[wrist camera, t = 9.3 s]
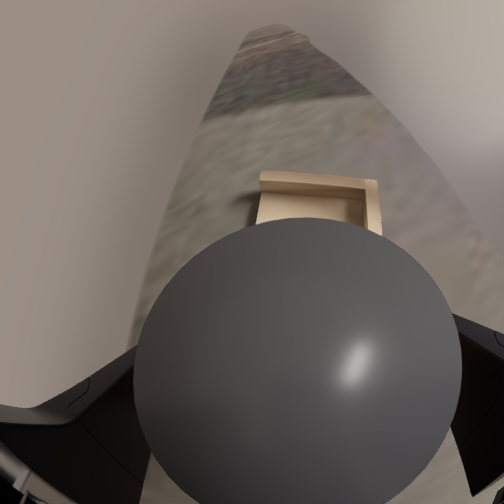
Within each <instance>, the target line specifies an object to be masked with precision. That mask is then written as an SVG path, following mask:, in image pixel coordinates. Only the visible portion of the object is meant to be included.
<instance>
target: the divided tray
mask: <svg viewBox="0 0 504 504" xmlns="http://www.w3.org/2000/svg"><path fill="white" fill-rule="evenodd" d="M259 181H260V186H261V198H260V203H259V209H258V214H257V220H256V224H260V223H263V222H267V221H272V220H279V219H285V218H302V217H312V218H324V219H332V220H337V221H342V222H347V223H351V224H354V225H357V226H360V227H362V228H365V229H368V230H370V231H372V232H375V233H377V234H379V235H381V236H382V227H381V215H380V204H379V195H378V186H377V180H369V179H361V178H353V177H344V176H334V175H324V174H312V173H298V172H283V171H262V170H261V175H260V180H259Z"/></svg>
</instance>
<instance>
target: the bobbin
mask: <svg viewBox="0 0 504 504" xmlns="http://www.w3.org/2000/svg"><path fill="white" fill-rule="evenodd" d="M461 378H462V356H461V347H460V341H459V336H458V331H457V327H456V324H455V321H454V318H453V315H452V312H451V310H450V308H449V306H448V304H447V302H446V300H445V298H444V296H443V294H442V292H441V291H440V289H439V288H438V286H437V285H436V283H435V282H434V280H433V279H432V277H431V276H430V275H429V274H428V273H427V272H426V270H425V269H424V268H423V267H422V266H421V265H420V264H419V263H418V262H417V261H416V260H415V259H414V258H413V257H412V256H410V255H409V254H408V253H407V252H406V251H405V250H403V249H402V248H400V247H399V246H397V245H396V244H394V243H393V242H391V241H390V240H388V239H387V238H385V237H383V236H381V235H379V234H377V233H375V232H372V231H370V230H368V229H365V228H362V227H360V226H357V225H354V224H351V223H347V222H342V221H337V220H332V219H324V218H312V217H302V218H285V219H279V220H272V221H267V222H263V223H260V224H256V225H253V226H249V227H246V228H244V229H241V230H239V231H237V232H234V233H232V234H229V235H227V236H226V237H224V238H222V239H220V240H218V241H216V242H215V243H213V244H211V245H210V246H208V247H207V248H205V249H204V250H203V251H201V252H200V253H199V254H197V255H196V256H194V257H193V258H192V259H191V260H190V261H189V262H188V263H187V264H186V265H184V266H183V267H182V268H181V269H180V270H179V271H178V272H177V273H176V275H175V276H174V277H173V278H172V279H171V280H170V282H169V283H168V284H167V285H166V286H165V288H164V289H163V291H162V292H161V294H160V295H159V297H158V298H157V300H156V301H155V303H154V305H153V307H152V309H151V311H150V313H149V315H148V317H147V319H146V321H145V323H144V326H143V329H142V332H141V335H140V338H139V341H138V346H137V351H136V356H135V361H134V377H133V386H134V399H135V406H136V410H137V415H138V419H139V423H140V426H141V429H142V431H143V434H144V436H145V439H146V442H147V444H148V445H149V447H150V449H151V451H152V453H153V455H154V456H155V458H156V460H157V461H158V463H159V464H160V465H161V467H162V468H163V469H164V471H165V472H166V473H167V475H168V476H169V477H170V478H171V479H172V480H173V481H174V482H175V483H176V484H177V485H178V486H179V487H180V488H181V489H182V490H183V491H184V492H185V493H186V494H188V495H189V496H190V497H192V498H193V499H194V500H195V501H197V502H198V503H200V504H384V503H386V502H388V501H389V500H391V499H392V498H394V497H395V496H396V495H397V494H399V493H400V492H401V491H402V490H404V489H405V488H406V487H407V486H408V485H409V484H410V483H411V482H412V481H413V480H414V479H415V478H416V477H417V476H418V475H419V474H420V473H421V472H422V471H423V470H424V469H425V467H426V466H427V465H428V463H429V462H430V461H431V459H432V458H433V457H434V455H435V454H436V452H437V451H438V449H439V447H440V446H441V444H442V442H443V440H444V438H445V436H446V434H447V432H448V430H449V428H450V425H451V422H452V420H453V417H454V414H455V411H456V407H457V403H458V399H459V394H460V388H461Z"/></svg>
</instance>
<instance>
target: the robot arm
mask: <svg viewBox="0 0 504 504" xmlns="http://www.w3.org/2000/svg"><path fill="white" fill-rule="evenodd" d="M452 315H453V318H454V321H455V324H456V327H457V331H458V336H459V341H460V347H461V356H462V378H461V388H460V394H459V399H458V403H457V407H456V411H455V414H454V417H453V420H452V422H451V425H450V427H451V430H452V433H453V435H454V438H455V441H456V444H457V447H458V450H459V453H460V457H461V460H462V463H463V466H464V470H465V473H466V477H467V480H468V484H469V488H470V492H471V495H472V497H474V496H475V495H477V494H479V493H480V492H482V491H483V490H485V489H487V488H488V487H490V486H491V485H493V484H494V483H496V482H497V481H498V480H500V479H501V478H503V477H504V334H502V333H500V332H497V331H493V330H492V329H490V328H487V327H485V326H482V325H480V324H478V323H475V322H473V321H470V320H468V319H465V318H463V317H460V316H458V315H455V314H453V313H452ZM137 346H138V345H136V346H135V347H133V348H132V349H130V350H129V351H127V352H126V353H124V354H123V355H121V356H120V357H118V358H117V359H115V360H114V361H112V362H111V363H109V364H108V365H106V366H105V367H103V368H102V369H100V370H98V371H97V372H95V373H94V374H92V375H91V376H90V377H88V378H86V379H85V380H83V381H82V382H80V383H78V384H77V385H75V386H73V387H72V388H70V389H68V390H67V391H65V392H63V393H61V394H59V395H57V396H56V397H54V398H52V399H50V400H48V401H46V402H44V403H42V404H40V405H38V406H36V407H33V408H18V407H12V406H6V405H0V504H139V501H140V497H141V493H142V488H143V483H144V479H145V475H146V471H147V467H148V463H149V459H150V455H151V449H150V447H149V445H148V444H147V442H146V439H145V436H144V434H143V431H142V429H141V426H140V423H139V419H138V415H137V410H136V406H135V399H134V386H133V377H134V361H135V356H136V351H137ZM493 504H504V487H503V488H501V489H500V490H499V491H497V494H496V496H495V499H494V501H493Z"/></svg>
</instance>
